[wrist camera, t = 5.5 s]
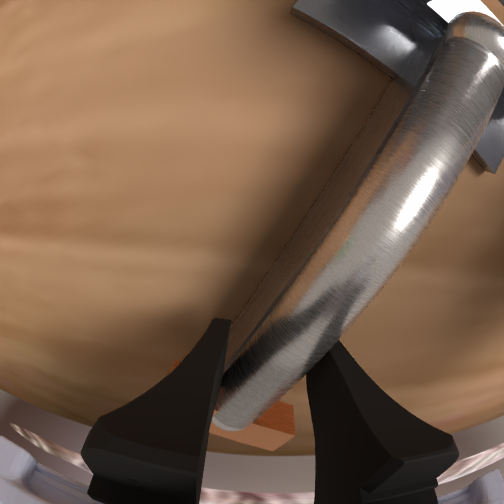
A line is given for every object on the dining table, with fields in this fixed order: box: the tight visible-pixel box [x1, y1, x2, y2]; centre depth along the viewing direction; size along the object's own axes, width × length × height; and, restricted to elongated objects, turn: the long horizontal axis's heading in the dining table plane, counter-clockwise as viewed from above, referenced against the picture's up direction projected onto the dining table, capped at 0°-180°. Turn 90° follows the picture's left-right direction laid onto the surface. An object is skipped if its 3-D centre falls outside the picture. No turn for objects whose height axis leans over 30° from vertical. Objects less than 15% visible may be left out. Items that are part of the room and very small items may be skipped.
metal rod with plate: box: [167, 11, 504, 451], centre depth 9 cm, size 6×20×3 cm, turn 150°
